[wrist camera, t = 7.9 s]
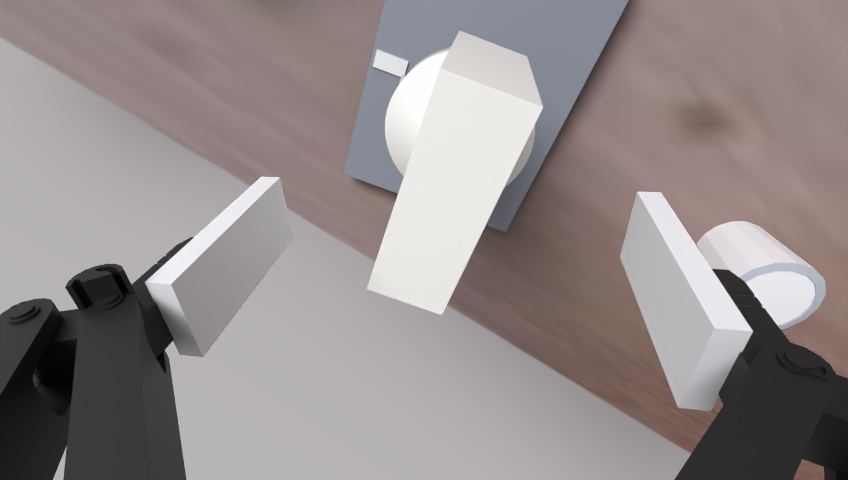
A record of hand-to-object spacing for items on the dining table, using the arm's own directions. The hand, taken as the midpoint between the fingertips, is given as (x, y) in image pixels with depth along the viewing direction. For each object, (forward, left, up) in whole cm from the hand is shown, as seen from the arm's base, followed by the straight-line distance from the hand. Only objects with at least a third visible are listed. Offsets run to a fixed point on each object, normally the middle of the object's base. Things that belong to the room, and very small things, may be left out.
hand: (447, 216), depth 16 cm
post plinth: (0, 0, -21) cm, 21 cm away
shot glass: (-26, +5, -21) cm, 34 cm away
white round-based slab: (0, +1, -12) cm, 12 cm away
